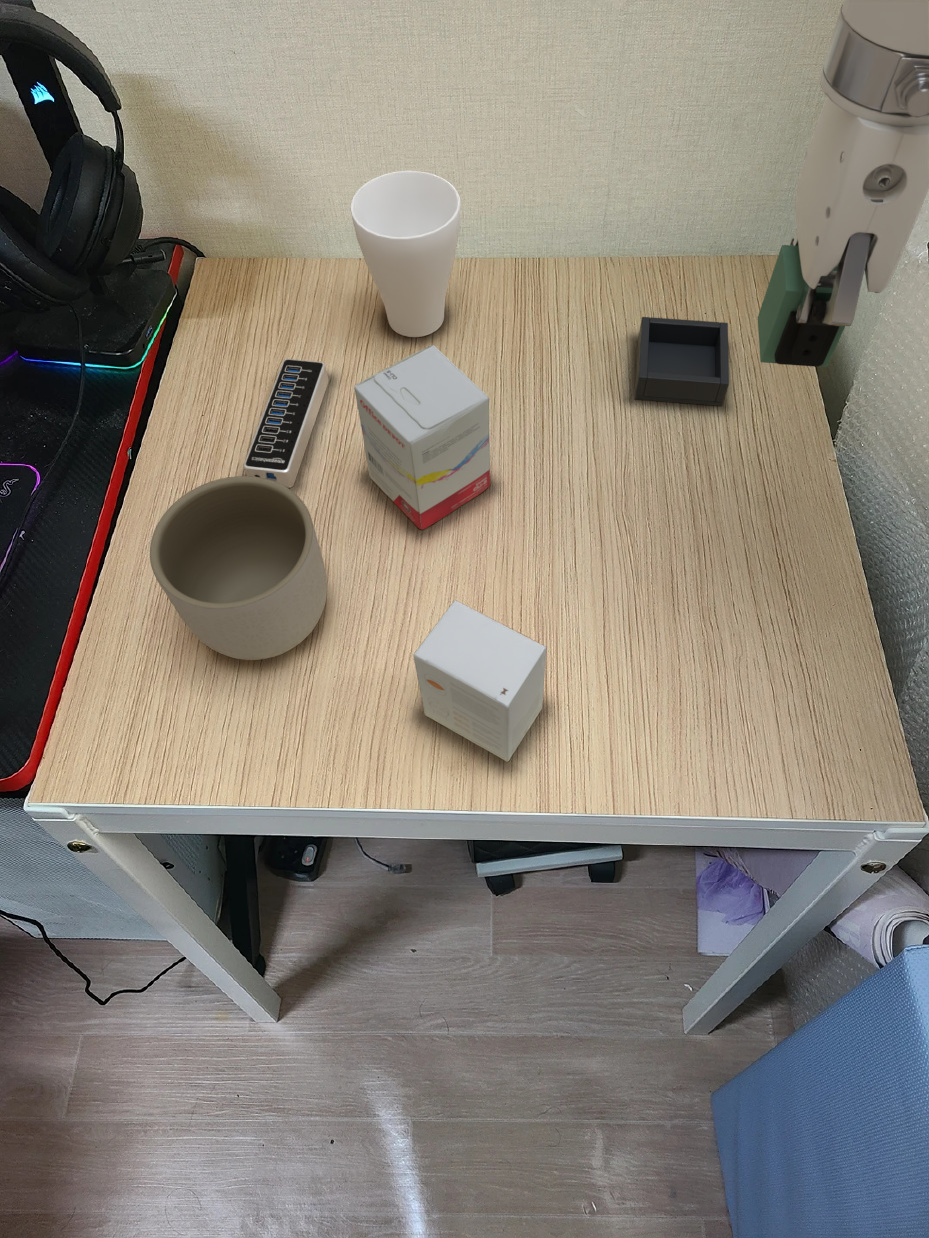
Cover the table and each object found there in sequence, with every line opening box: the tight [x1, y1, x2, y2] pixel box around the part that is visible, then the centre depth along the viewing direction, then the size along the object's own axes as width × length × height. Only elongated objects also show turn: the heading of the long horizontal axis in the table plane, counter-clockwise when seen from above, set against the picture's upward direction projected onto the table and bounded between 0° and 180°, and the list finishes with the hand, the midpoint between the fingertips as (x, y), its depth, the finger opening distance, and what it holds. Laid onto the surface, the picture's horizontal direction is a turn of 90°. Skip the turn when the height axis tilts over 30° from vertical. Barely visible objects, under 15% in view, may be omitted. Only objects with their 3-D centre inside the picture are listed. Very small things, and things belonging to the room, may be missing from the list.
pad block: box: [757, 244, 846, 368], centre depth 58 cm, size 4×4×6 cm
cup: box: [349, 170, 462, 338], centre depth 88 cm, size 10×10×14 cm
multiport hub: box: [243, 358, 330, 489], centre depth 85 cm, size 4×14×2 cm, turn 170°
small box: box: [412, 599, 547, 763], centre depth 65 cm, size 8×6×10 cm
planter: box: [149, 475, 328, 661], centre depth 71 cm, size 12×12×11 cm
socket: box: [634, 316, 730, 407], centre depth 87 cm, size 9×9×3 cm
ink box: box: [353, 344, 491, 531], centre depth 77 cm, size 9×9×12 cm
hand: (795, 333), depth 60 cm, fingers closed on pad block, 4 cm apart
